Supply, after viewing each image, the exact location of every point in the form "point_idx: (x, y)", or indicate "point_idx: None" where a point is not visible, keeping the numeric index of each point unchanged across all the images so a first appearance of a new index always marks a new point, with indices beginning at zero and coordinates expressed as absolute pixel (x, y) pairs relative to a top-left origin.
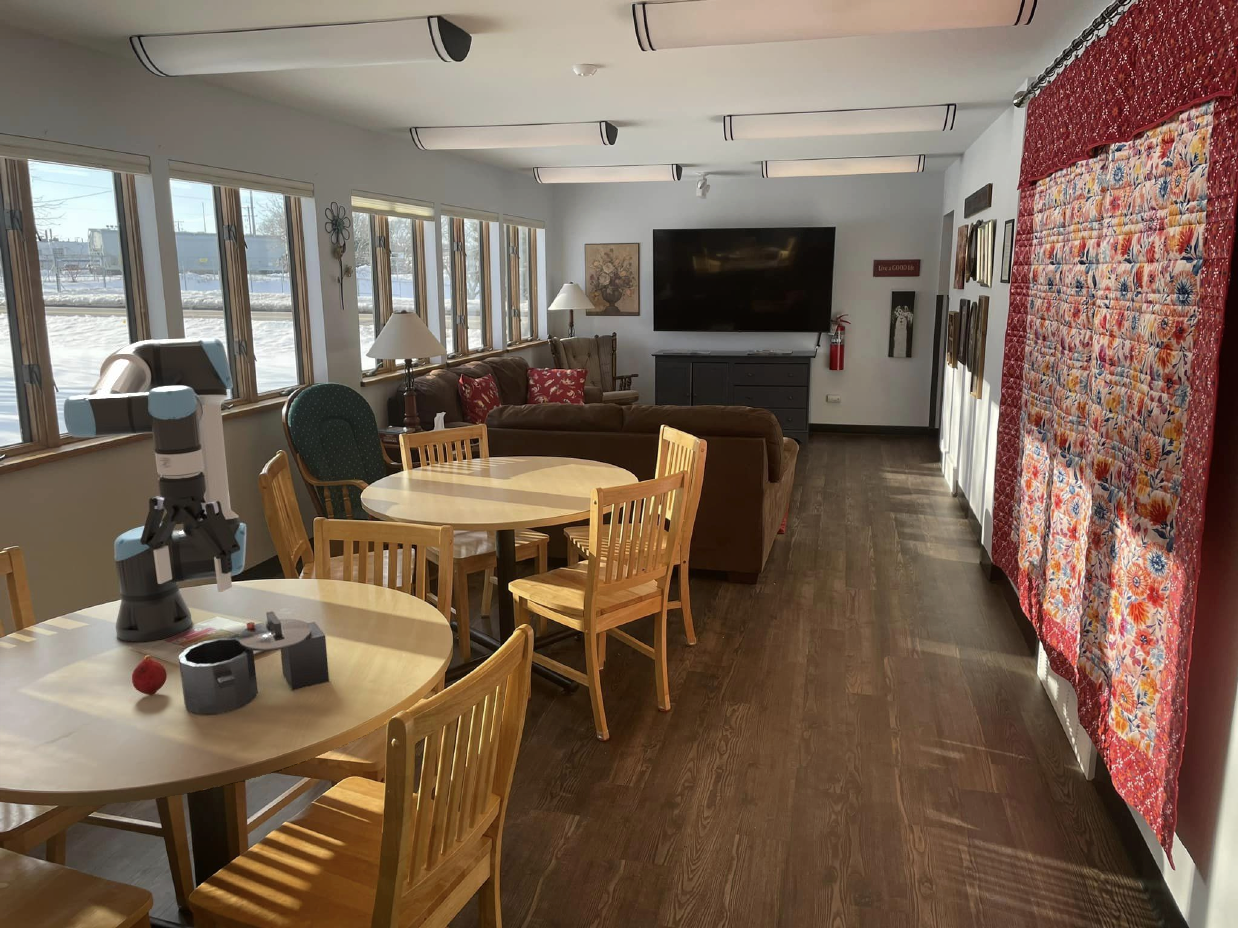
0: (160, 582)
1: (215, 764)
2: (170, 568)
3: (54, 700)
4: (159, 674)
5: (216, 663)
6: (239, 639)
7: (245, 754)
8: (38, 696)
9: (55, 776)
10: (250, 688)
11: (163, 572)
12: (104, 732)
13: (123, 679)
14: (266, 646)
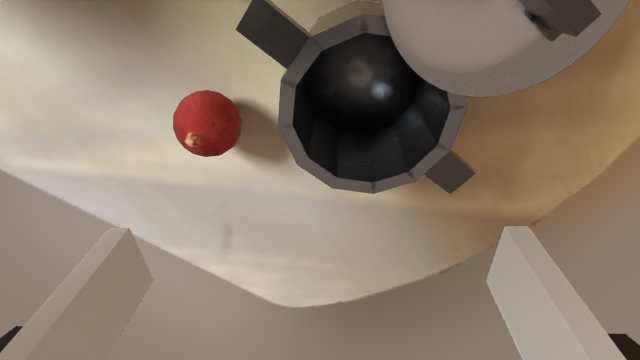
0: (148, 284)
1: (485, 232)
2: (94, 277)
3: (98, 172)
4: (235, 129)
5: (418, 169)
6: (416, 70)
7: (516, 206)
8: (61, 170)
9: (307, 288)
10: None
11: (118, 307)
12: (268, 215)
13: (107, 77)
14: (533, 85)
